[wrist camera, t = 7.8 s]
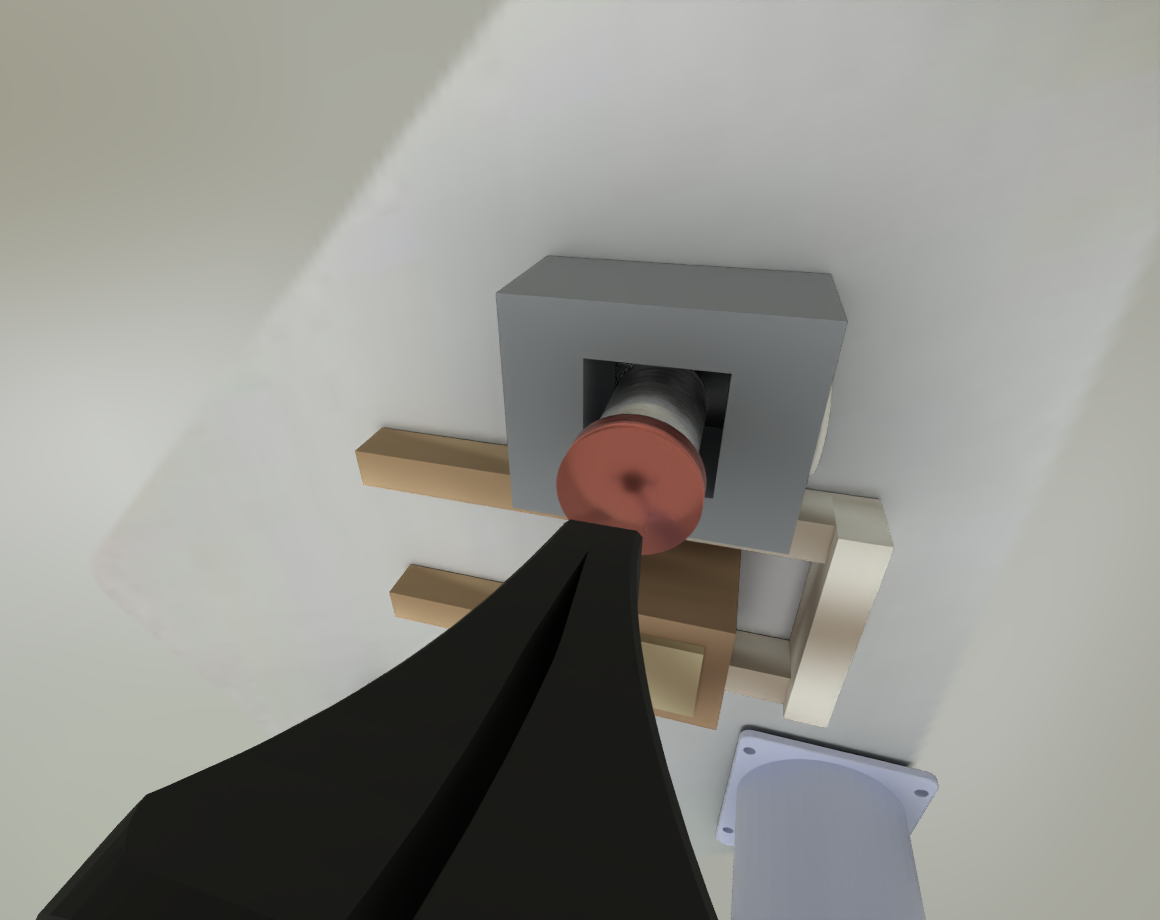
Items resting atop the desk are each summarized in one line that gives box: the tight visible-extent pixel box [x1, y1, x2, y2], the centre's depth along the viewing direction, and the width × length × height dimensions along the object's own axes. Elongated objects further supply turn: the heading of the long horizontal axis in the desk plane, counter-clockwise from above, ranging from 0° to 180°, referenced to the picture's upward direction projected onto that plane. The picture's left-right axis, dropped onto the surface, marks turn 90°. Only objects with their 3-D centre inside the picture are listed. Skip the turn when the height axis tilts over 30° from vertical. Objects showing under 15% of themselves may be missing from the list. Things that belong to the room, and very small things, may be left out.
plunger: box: [556, 364, 708, 555], centre depth 14 cm, size 3×3×5 cm
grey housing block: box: [496, 256, 848, 555], centre depth 16 cm, size 6×8×4 cm
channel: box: [355, 428, 894, 728], centre depth 22 cm, size 9×18×2 cm, turn 90°
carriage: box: [638, 540, 741, 730], centre depth 20 cm, size 5×4×5 cm
